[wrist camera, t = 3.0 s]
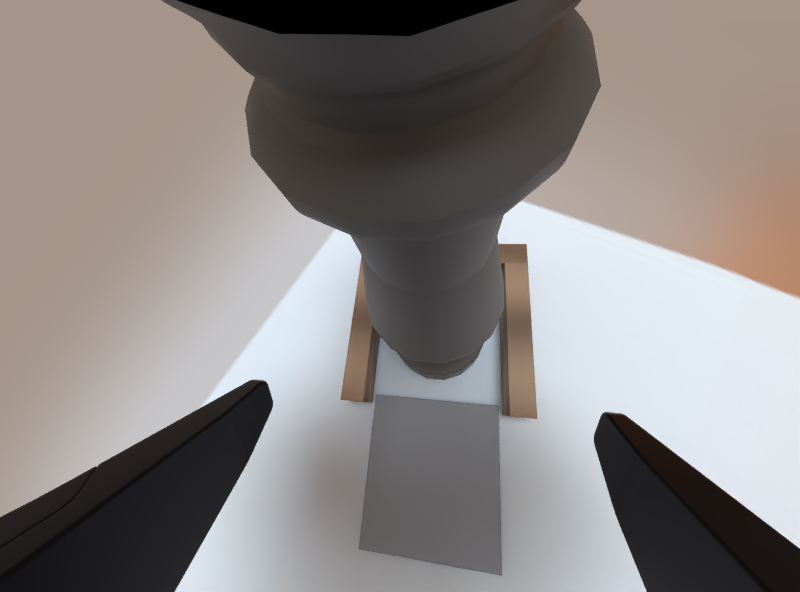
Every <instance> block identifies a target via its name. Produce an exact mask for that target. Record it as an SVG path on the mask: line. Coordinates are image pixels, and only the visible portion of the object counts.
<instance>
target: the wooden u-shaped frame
mask: <svg viewBox="0 0 800 592" xmlns="http://www.w3.org/2000/svg"><path fill="white" fill-rule="evenodd" d="M498 247H499V254H500V262H501V268H502V275H503V281H504V310H503V312H502V314H501V316H500V338H501V378H502V415H507V416H512V417H522V418H533V419H537V408H536V392H535V376H534V359H533V343H532V327H531V310H530V294H529V278H528V261H527V245H526V244H498ZM379 336H380V335H379V333H378V332H377V331H376V330H375V328H374V327H373V326H372V323H371V319H370V315H369V311H368V308H367V304H366V298H365V286H364V275H363V265H362V258H361V264H360V271H359V278H358V285H357V292H356V298H355V305H354V312H353V319H352V326H351V333H350V339H349V346H348V353H347V360H346V367H345V373H344V380H343V387H342V394H341V400H350V401H360V402H372V398H373V389H374V380H375V372H376V363H377V354H378V345H379Z"/></svg>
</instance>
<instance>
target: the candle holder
mask: <svg viewBox="0 0 800 592" xmlns="http://www.w3.org/2000/svg"><path fill="white" fill-rule="evenodd" d="M162 1H163V2H165V3H167V4H169V5H170V6H172V7H174V8H176V9H178V10H180V11H182V12H184V13H185V14H187V15H189V16H191V17H193V18H194V19H196V20H197V21H199V22H200V23H202V24H203V26H204V27H205V29H206V30H207V31H208V33H209V34H210V36H211V37H212V38H213V39H214V40H215V41H216V42H217V43H218V44H219V45H220V46H221V47H222V48H223V49H224V50H225V51H226V52H227V53H228V54H229V55H230V56H231V57H232V58H233V59H234V60H236V62H238V64H239V65H240V66H241V67H243V68H244V69H245V70H246V71H247V72H248V73H250V74H251V75H252V76H254V77H255V79H254V81H253V84H252V87H251V89H250V92H249V95H248V99H247V103H246V108H245V112H246V120H247V127H248V135H249V142H250V151H251V156H252V157H253V158H254V160H255V161H256V162H257V163H258V165H259V166H260V167H261V168H262V170H263V171H264V172H265V173H266V174H267V176H268V177H269V178H270V179H271V180H272V182H273V183H274V184H275V185H276V186H277V188H278V189H279V190H280V191H281V192H282V194H283V195H284V196H285V197H286V198H287V200H288V201H289V202H290V203H291V204H292V206H293V207H294V208H295V209H296V210H297V211H298V212H300V213H301V214H303V215H305V216H307V217H310V218H312V219H314V220H316V221H319V222H321V223H323V224H326V225H328V226H331V227H333V228H335V229H338V230H340V231H342V232H345V233H347V234H350V235H351V237H352V239H353V240H354V242H355V244H356V246H357V247H358V249H359V251H360V253H361V256H362V265H363V275H364V286H365V298H366V304H367V308H368V311H369V315H370V319H371V323H372V326H373V327H374V328H375V330H376V331H377V332H378V333H379V335H380V336H381V337H382V338H383V340H384V341H385V342H386V343H387V345H388V346H389V347H390V348H391V349H393V350H395V351H396V352H397V353H398V354H399V355H400V357H401V358H402V359H403V360H404V362H405V363H406V364H407V365H408V366H409V367H410V368H411V369H412V370H413V371H415V372H417V373H419V374H421V375H423V376H424V377H426V378H432V379H442V380H445V379H448V378H451V377H454V376H457V375H460V374H461V373H463V372H464V371H465V370H466V369H467V368H468V367H469V366H471V365H472V364H473V363H474V361H475V360H476V358H477V357H478V355H479V352H480V350H481V348H482V346H483V344H484V342H485V341H486V340H487V339H489V338H490V337H491V335H492V334H493V332H494V329H495V327H496V325H497V323H498V321H499V318H500V316H501V314H502V312H503V310H504V281H503V275H502V268H501V262H500V254H499V247H498V239H497V235H498V231H499V228H500V225H501V222H502V218H503V215H504V214H505V213H507V212H508V211H509V210H510V209H511V208H513V207H514V206H515V205H516V204H518V203H519V202H520V201H521V200H522V199H524V198H525V197H526V196H527V195H528V194H530V193H531V192H532V191H533V190H535V189H536V188H537V187H538V186H539V185H541V184H542V183H543V182H544V181H546V180H547V179H548V178H549V177H550V176H552V175H553V174H554V173H555V172H556V171H558V170H559V169H560V167H561V166H562V165H563V164H564V162H565V161H566V159H567V157H568V155H569V153H570V151H571V149H572V147H573V145H574V143H575V141H576V139H577V137H578V135H579V132H580V130H581V128H582V126H583V124H584V121H585V119H586V117H587V115H588V113H589V110H590V108H591V106H592V104H593V102H594V100H595V97H596V95H597V93H598V91H599V89H600V87H601V84H600V78H599V72H598V67H597V60H596V54H595V48H594V43H593V37H592V33H591V31H590V29H589V28H588V26H587V24H586V22H585V21H584V20H583V18H582V17H581V16H580V15H579V13H578V12H577V11H576V10H575V9H574V8H575V7H576V6H577V5H578V4H579V3H580V1H581V0H162Z"/></svg>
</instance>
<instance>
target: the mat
mask: <svg viewBox="0 0 800 592" xmlns="http://www.w3.org/2000/svg"><path fill="white" fill-rule="evenodd" d="M359 549H362V550H367V551H373V552H378V553H384V554H389V555H394V556H400V557H405V558H410V559H416V560H421V561H427V562H432V563H437V564H443V565H448V566H453V567H459V568H464V569H470V570H475V571H480V572H486V573H491V574H496V575H502V557H501V509H500V462H499V414H498V406H491V405H480V404H469V403H459V402H448V401H437V400H426V399H416V398H405V397H394V396H384V395H376V399H375V408H374V418H373V427H372V436H371V445H370V454H369V463H368V472H367V481H366V491H365V500H364V509H363V518H362V527H361V536H360V545H359Z"/></svg>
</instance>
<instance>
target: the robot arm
mask: <svg viewBox="0 0 800 592" xmlns="http://www.w3.org/2000/svg"><path fill="white" fill-rule="evenodd" d="M272 407H273V400H272V396H271V393H270V390H269V387H268V384H267V382H266V381H263V380H250V381H248V382H246V383H245V384H243V385H241V386H239V387H237V388H236V389H234V390H232V391H230V392H228V393H227V394H225V395H223V396H221V397H219V398H218V399H216V400H214V401H212V402H210V403H209V404H207V405H205V406H203V407H201V408H200V409H198V410H196V411H194V412H192V413H191V414H189V415H187V416H185V417H183V418H182V419H180V420H178V421H176V422H174V423H173V424H171V425H169V426H167V427H166V428H164V429H162V430H160V431H158V432H157V433H155V434H153V435H151V436H149V437H148V438H146V439H144V440H142V441H140V442H138V443H137V444H135V445H133V446H131V447H130V448H128V449H126V450H124V451H122V452H121V453H119V454H117V455H115V456H113V457H111V458H110V459H108V460H106V461H104V462H102V463H101V464H99V465H98V467H93V468H92V469H90V470H88V471H86V472H84V473H83V474H81V475H79V476H77V477H76V478H74V479H72V480H70V481H68V482H66V483H65V484H63V485H61V486H59V487H57V488H55V489H54V490H52V491H50V492H48V493H46V494H44V495H42V496H40V497H39V498H37V499H35V500H33V501H31V502H29V503H27V504H25V505H23V506H21V507H20V508H17V509H15V510H13V511H11V512H9V513H7V514H5V515H4V516H2V517H0V592H175V590H176V588H177V587H178V585H179V583H180V581H181V579H182V578H183V576H184V574H185V572H186V571H187V569H188V567H189V565H190V564H191V562H192V560H193V558H194V556H195V555H196V553H197V551H198V549H199V548H200V546H201V544H202V542H203V541H204V539H205V537H206V535H207V533H208V532H209V530H210V528H211V526H212V525H213V523H214V521H215V519H216V518H217V516H218V514H219V512H220V510H221V509H222V507H223V505H224V503H225V502H226V500H227V498H228V496H229V495H230V493H231V491H232V489H233V487H234V486H235V484H236V482H237V480H238V479H239V477H240V475H241V473H242V472H243V470H244V468H245V466H246V464H247V462H248V460H249V458H250V456H251V454H252V452H253V450H254V448H255V446H256V443H257V441H258V439H259V437H260V435H261V432H262V430H263V428H264V426H265V424H266V421H267V419H268V417H269V415H270V412H271V410H272ZM594 444H595V448H596V451H597V454H598V458H599V461H600V464H601V468H602V471H603V475H604V478H605V481H606V485H607V488H608V491H609V495H610V498H611V501H612V505H613V508H614V511H615V514H616V516H617V519H618V522H619V524H620V527H621V529H622V532H623V534H624V537H625V539H626V542H627V544H628V546H629V549H630V551H631V554H632V556H633V559H634V561H635V564H636V566H637V569H638V571H639V574H640V576H641V578H642V581H643V583H644V586H645V588H646V591H647V592H800V548H798V547H797V546H796V545H794V544H793V543H792V542H790V541H789V540H788V539H787V538H785V537H784V536H783V535H781V534H780V533H779V532H777V531H776V530H775V529H773V528H772V527H771V526H770V525H768V524H767V523H766V522H764V521H763V520H762V519H760V518H759V517H758V516H756V515H755V514H754V513H753V512H751V511H750V510H749V509H747V508H746V507H745V506H743V505H742V504H741V503H739V502H738V501H737V500H736V499H734V498H733V497H732V496H730V495H729V494H728V493H726V492H725V491H724V490H722V489H721V488H720V487H719V486H717V485H716V484H715V483H713V482H712V481H711V480H709V479H708V478H707V477H705V476H704V475H703V474H702V473H700V472H699V471H698V470H696V469H695V468H694V467H692V466H691V465H690V464H689V463H687V462H686V461H685V460H683V459H682V458H681V457H679V456H678V455H677V454H675V453H674V452H673V451H672V450H670V449H669V448H668V447H666V446H665V445H664V444H662V443H661V442H660V441H658V440H657V439H656V438H655V437H653V436H652V435H651V434H649V433H648V432H647V431H645V430H644V429H643V428H641V427H640V426H639V425H638V424H636V423H635V422H634V421H632V420H631V419H630V418H628V417H627V416H626V415H624V414H621V413H611V412H604V413H603V414H602V415H601V417H600V420H599V423H598V426H597V428H596V431H595V434H594Z"/></svg>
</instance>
